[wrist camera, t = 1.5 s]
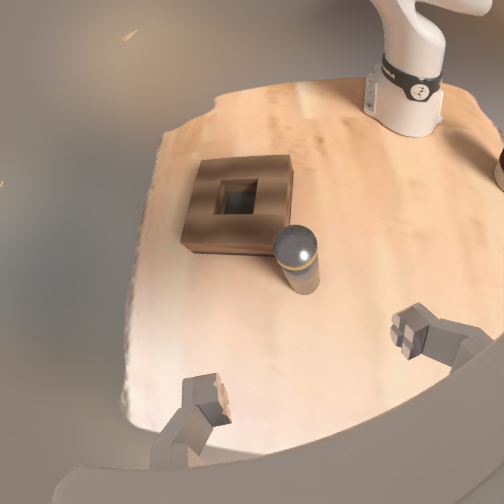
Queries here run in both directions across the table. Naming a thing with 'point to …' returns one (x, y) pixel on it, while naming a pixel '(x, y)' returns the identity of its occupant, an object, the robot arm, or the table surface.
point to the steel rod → (298, 257)
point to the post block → (239, 205)
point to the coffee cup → (500, 171)
